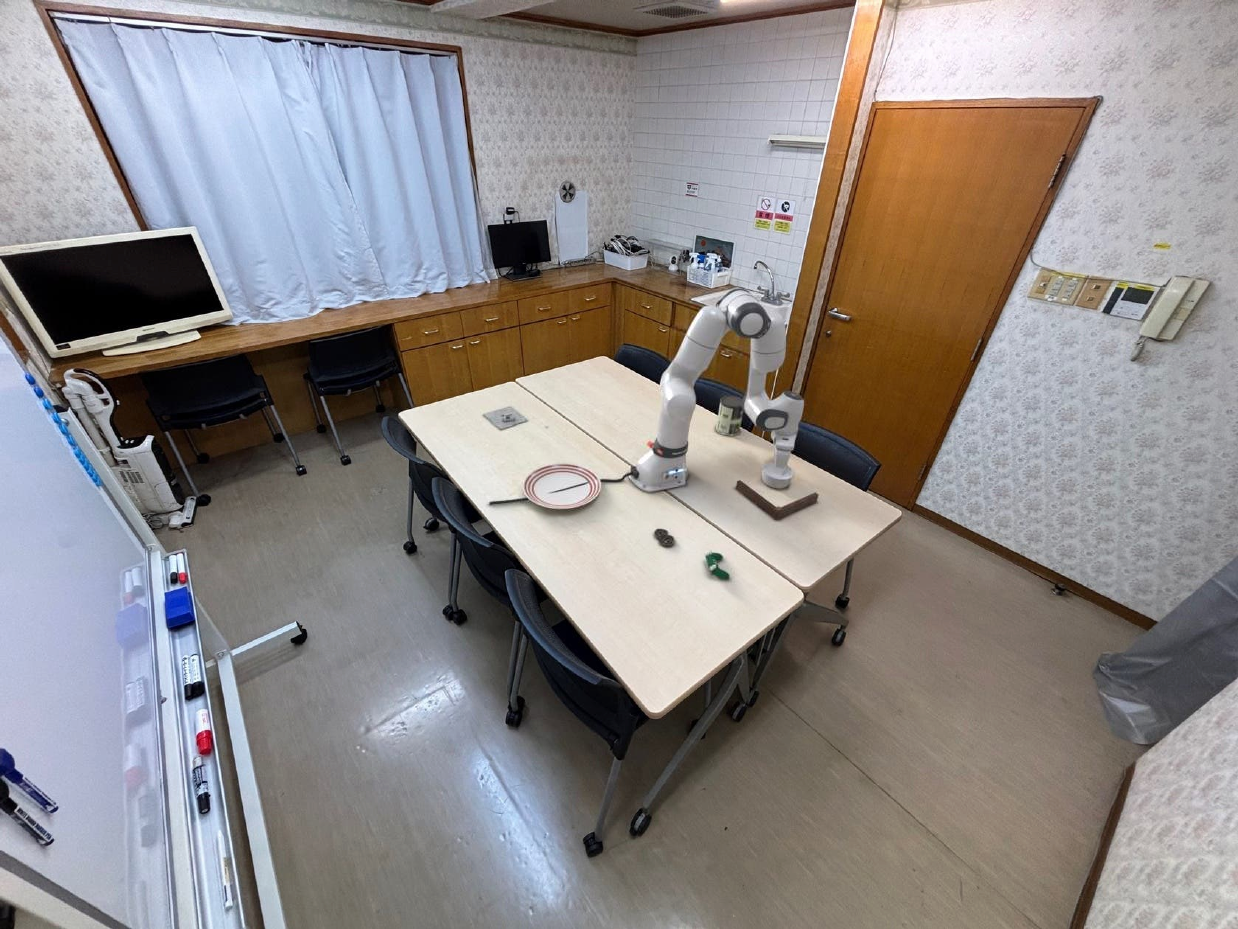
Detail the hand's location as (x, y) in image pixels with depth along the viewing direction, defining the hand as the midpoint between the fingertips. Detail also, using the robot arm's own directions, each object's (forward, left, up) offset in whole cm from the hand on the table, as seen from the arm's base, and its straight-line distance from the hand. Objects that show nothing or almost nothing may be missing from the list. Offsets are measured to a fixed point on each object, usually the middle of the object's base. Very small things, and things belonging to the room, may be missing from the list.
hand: (776, 465), depth 190 cm
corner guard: (-12, -11, -3) cm, 16 cm away
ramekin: (-5, -5, -3) cm, 8 cm away
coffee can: (+5, +33, -3) cm, 33 cm away
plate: (-77, +28, -3) cm, 82 cm away
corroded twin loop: (-60, -10, -3) cm, 61 cm away
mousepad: (-73, +83, -3) cm, 110 cm away
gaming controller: (-54, -28, -3) cm, 61 cm away
